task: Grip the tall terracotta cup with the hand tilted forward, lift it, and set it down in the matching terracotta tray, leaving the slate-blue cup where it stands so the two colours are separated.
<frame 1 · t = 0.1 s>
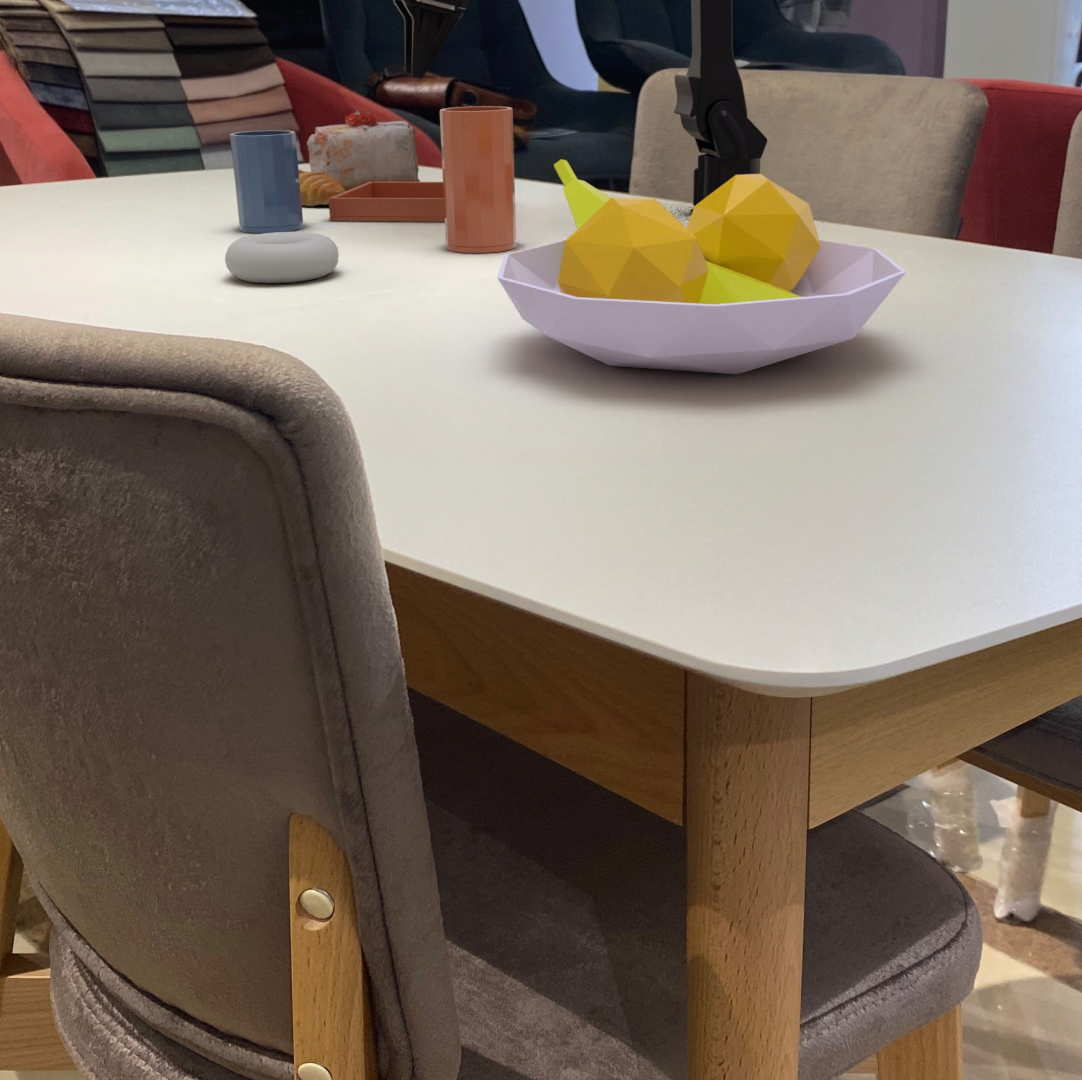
hand: (413, 76, 136), 15 cm above the table, tool pointing down, fingers open, 9 cm apart
tray: (421, 211, 152), on the table
slate cup: (271, 228, 142), on the table
fruit bowl: (686, 348, 89), on the table
food item: (365, 191, 172), on the table
pastry: (314, 204, 161), on the table
terracotta cup: (481, 247, 128), on the table
donut: (284, 278, 116), on the table
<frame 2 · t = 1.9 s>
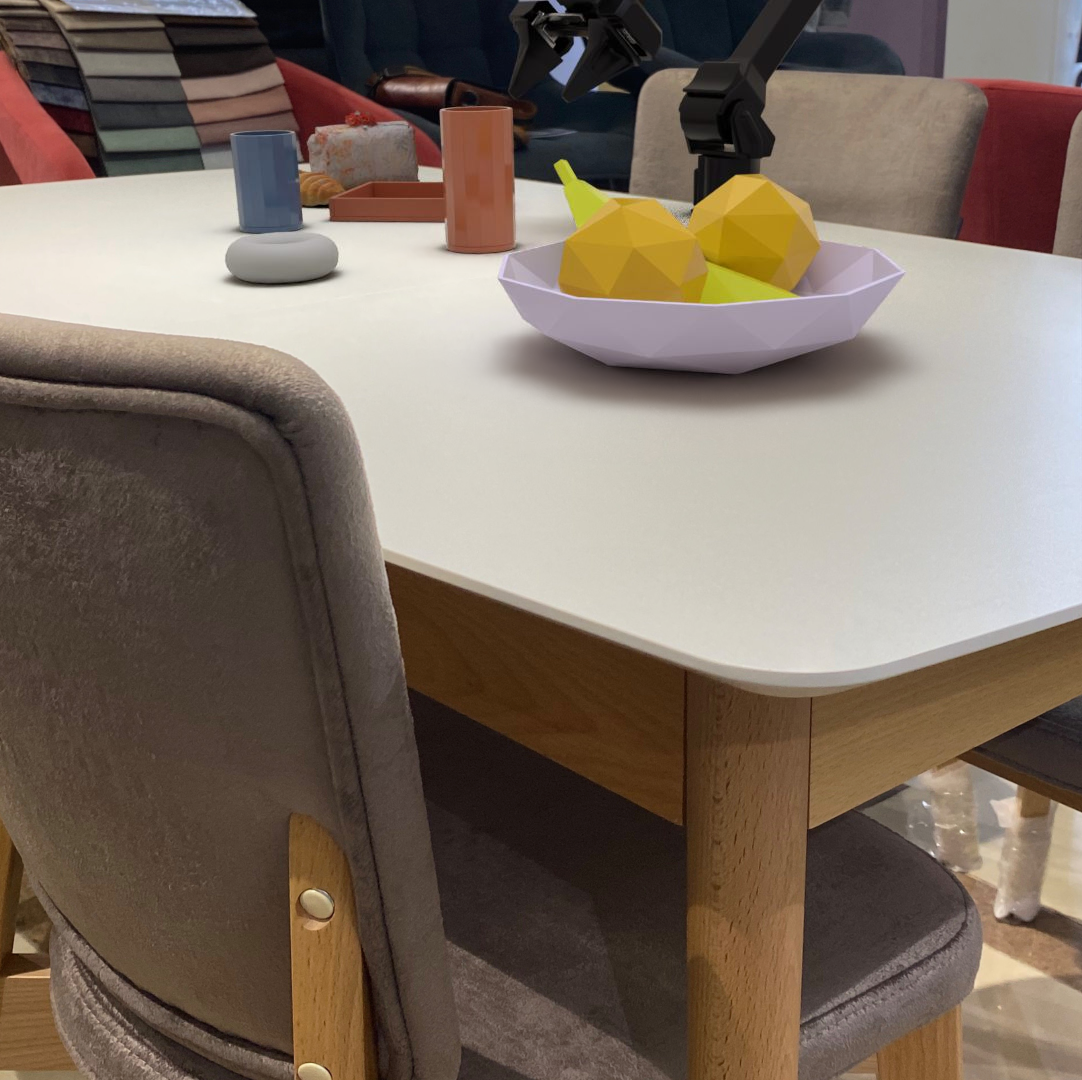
hand: (537, 97, 128), 14 cm above the table, tool tilted 45°, fingers open, 9 cm apart
nothing on the table moved.
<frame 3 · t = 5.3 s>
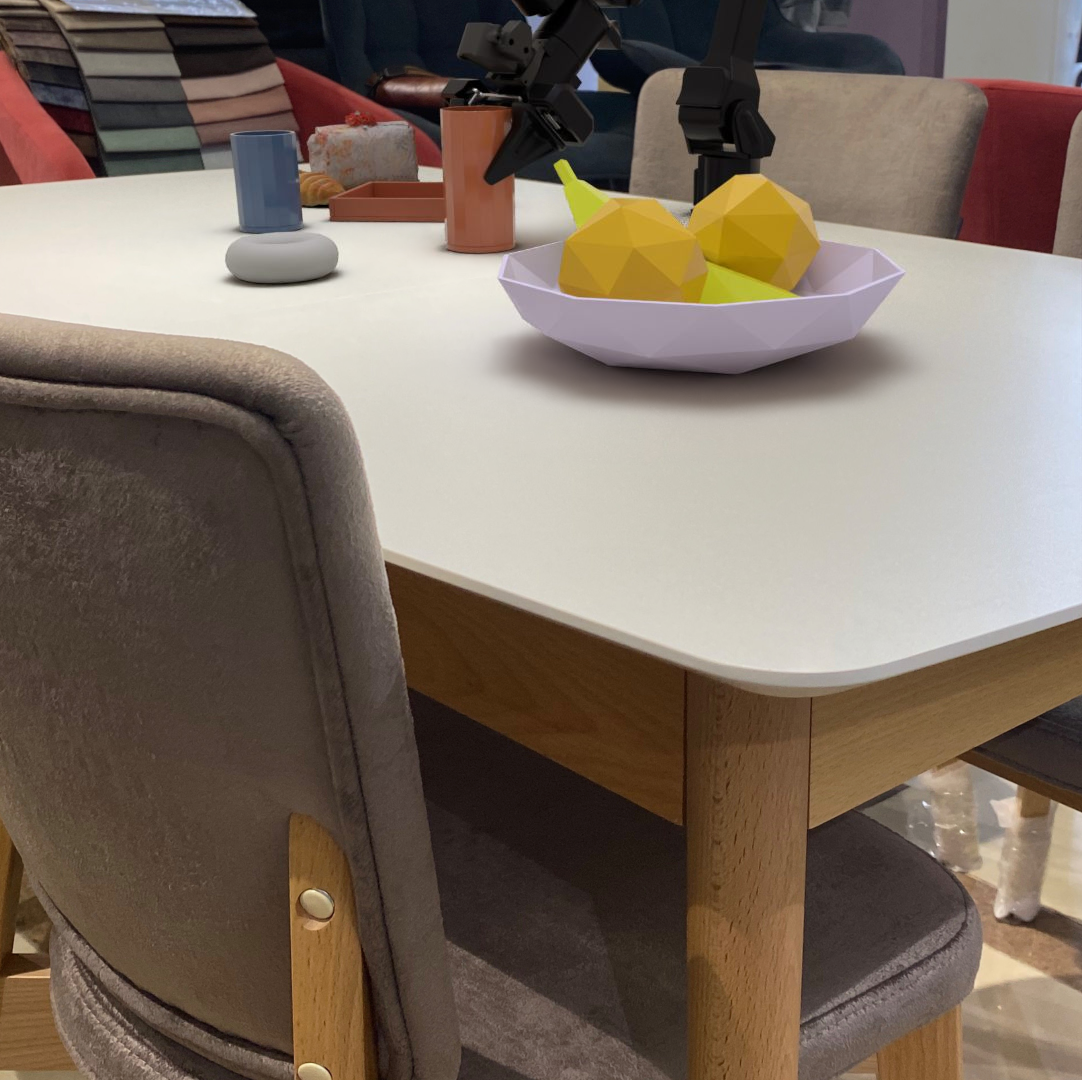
hand: (466, 179, 125), 7 cm above the table, tool tilted 45°, fingers closed on terracotta cup, 7 cm apart
terracotta cup: (480, 246, 128), on the table, touching gripper
everything else where it was.
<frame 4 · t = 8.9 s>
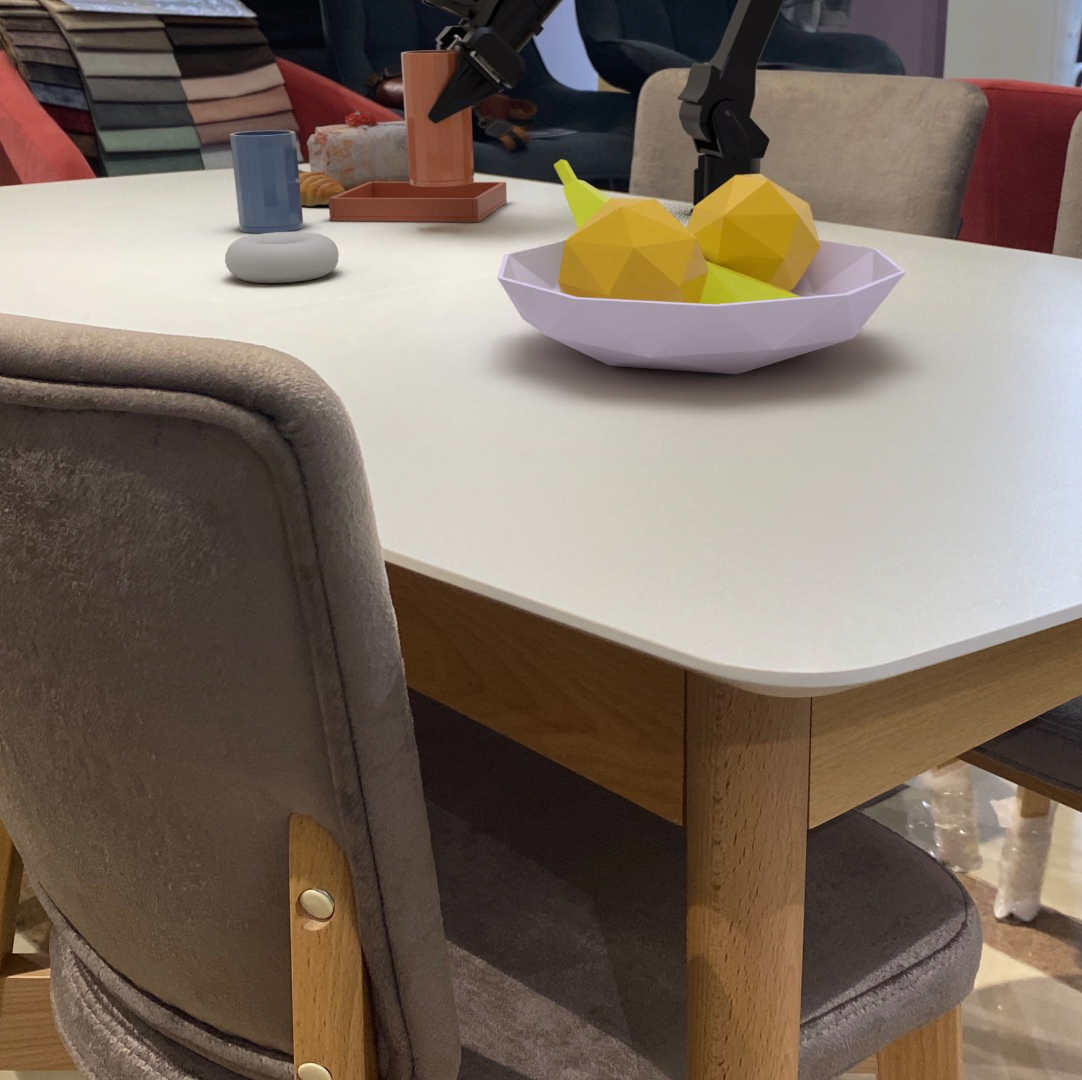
hand: (425, 117, 135), 11 cm above the table, tool tilted 45°, fingers closed on terracotta cup, 7 cm apart
terracotta cup: (441, 182, 138), point 5 cm above the table, touching gripper
everything else where it was.
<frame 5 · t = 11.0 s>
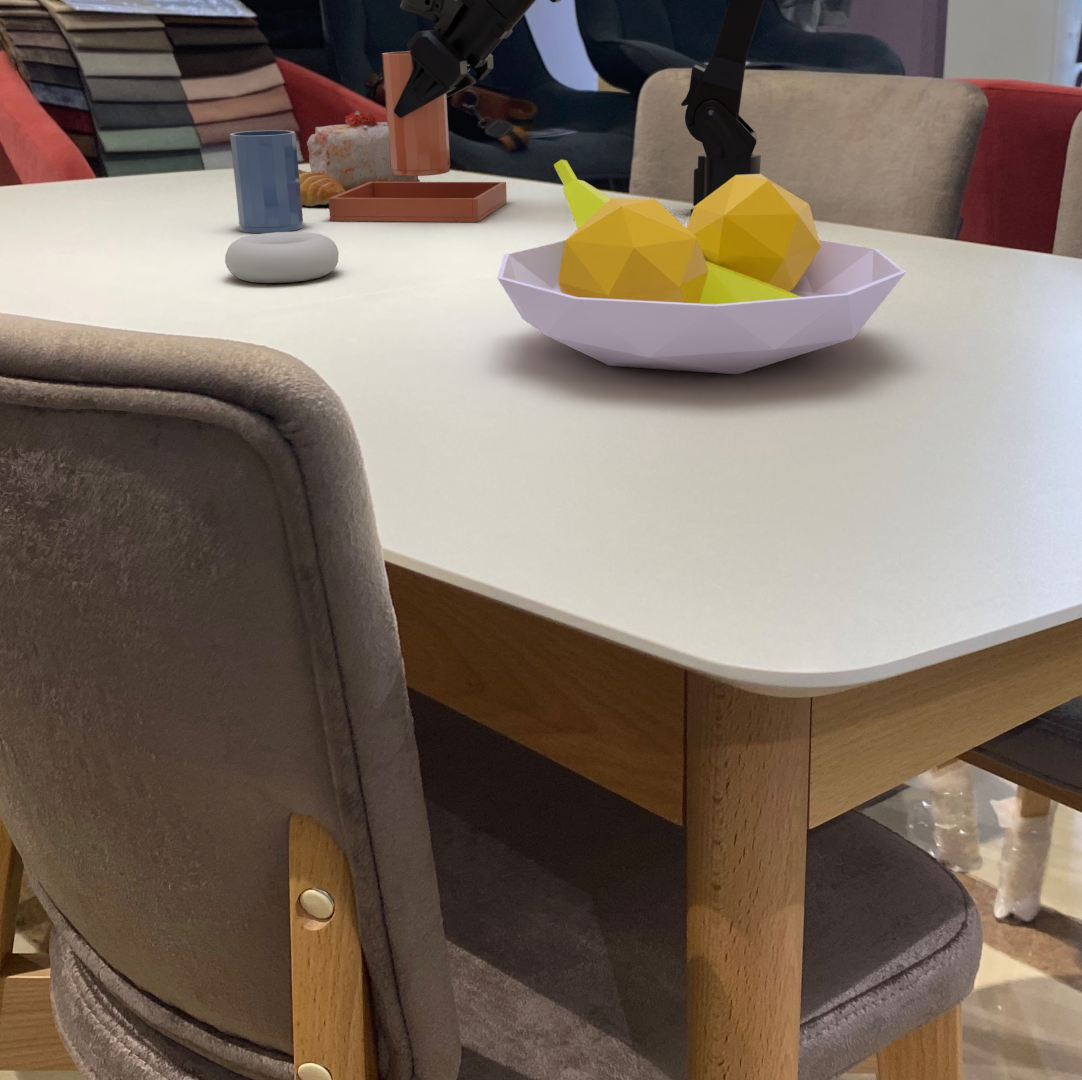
hand: (405, 112, 148), 11 cm above the table, tool tilted 45°, fingers closed on terracotta cup, 7 cm apart
terracotta cup: (420, 172, 150), point 4 cm above the table, touching gripper
everything else where it was.
when the fingers open (7 cm above the table, at t = 12.7 s): terracotta cup stays where it is, resting on tray.
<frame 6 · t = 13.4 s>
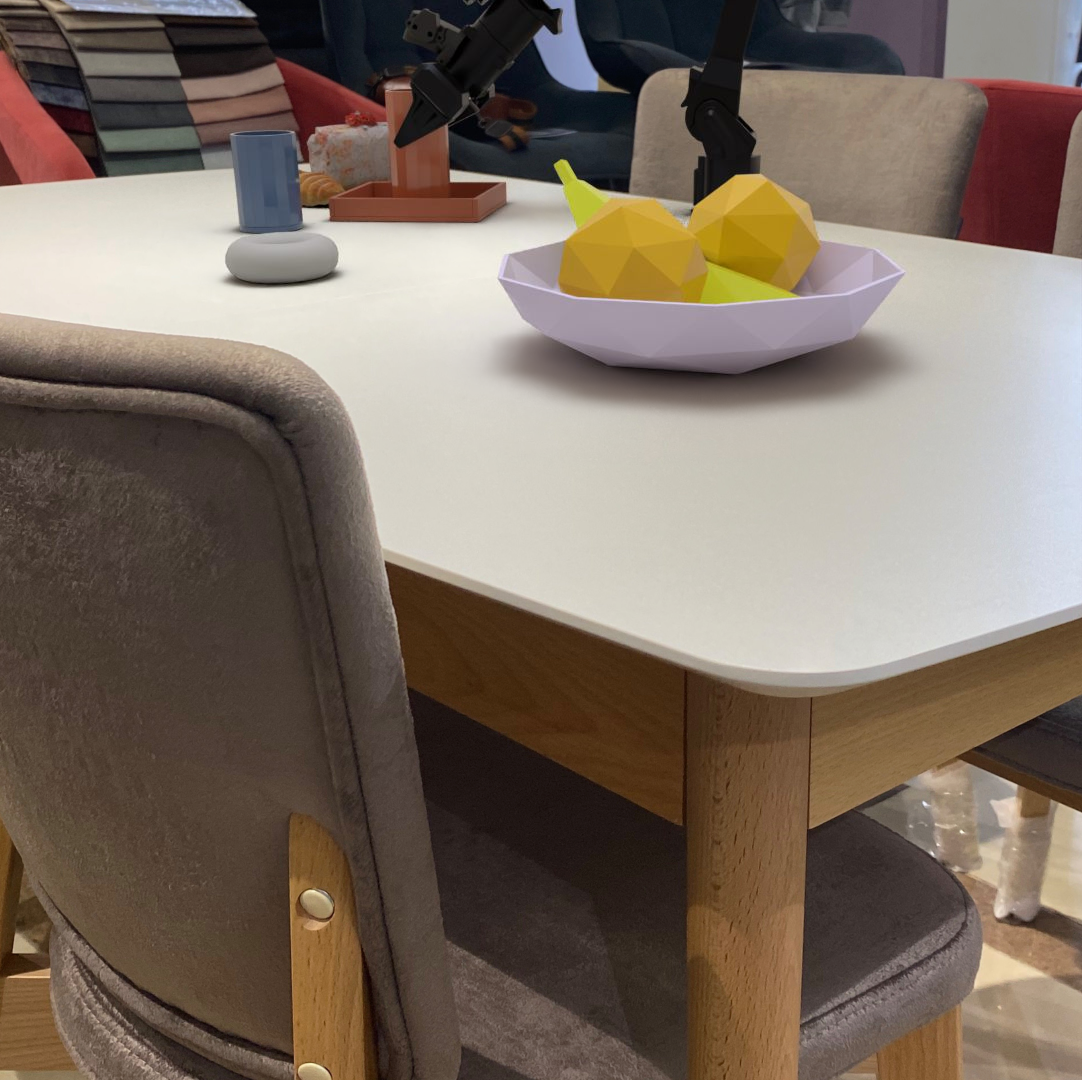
hand: (407, 141, 149), 8 cm above the table, tool tilted 45°, fingers open, 9 cm apart
terracotta cup: (421, 207, 152), resting on tray
everything else where it was.
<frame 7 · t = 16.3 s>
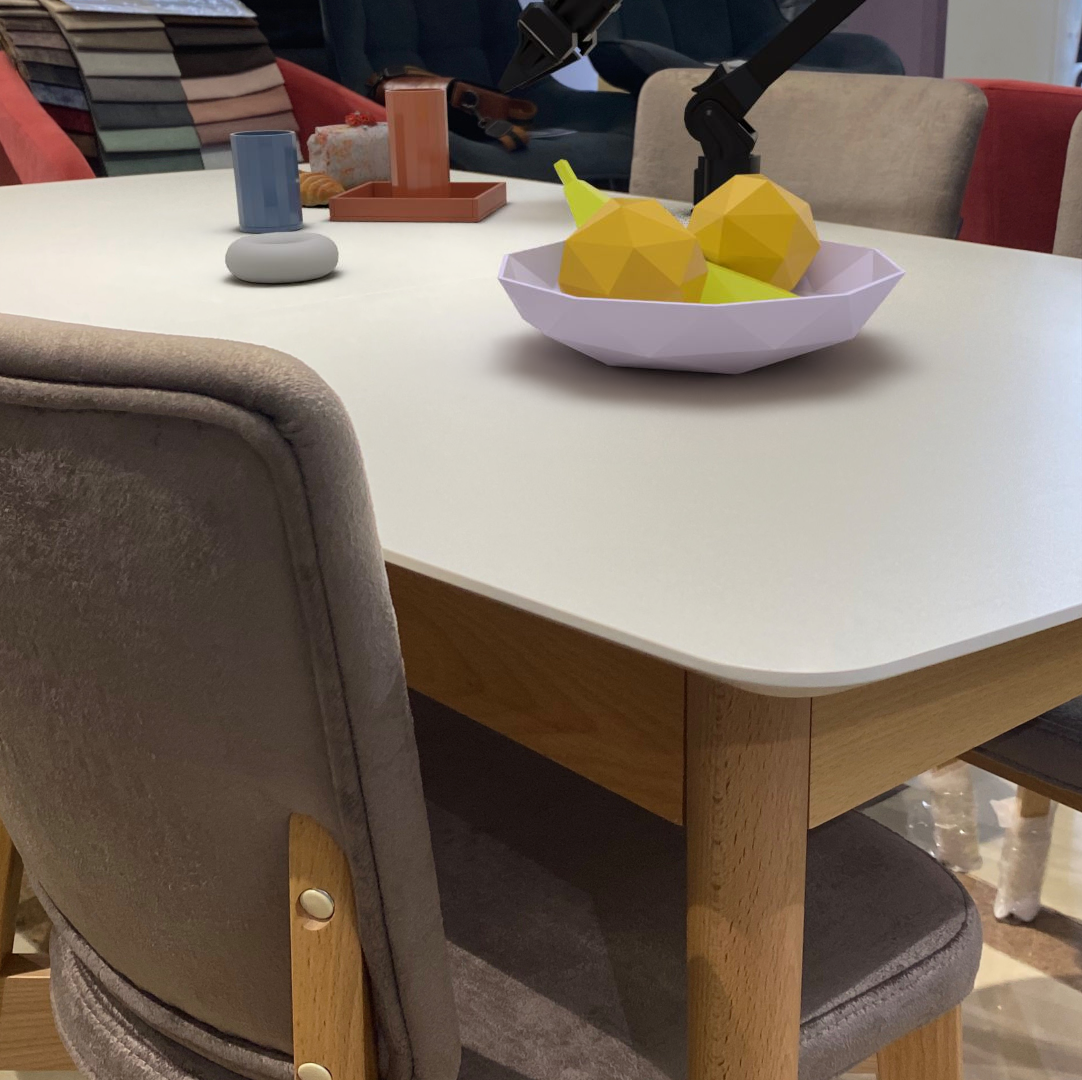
hand: (509, 88, 146), 14 cm above the table, tool tilted 45°, fingers open, 9 cm apart
nothing on the table moved.
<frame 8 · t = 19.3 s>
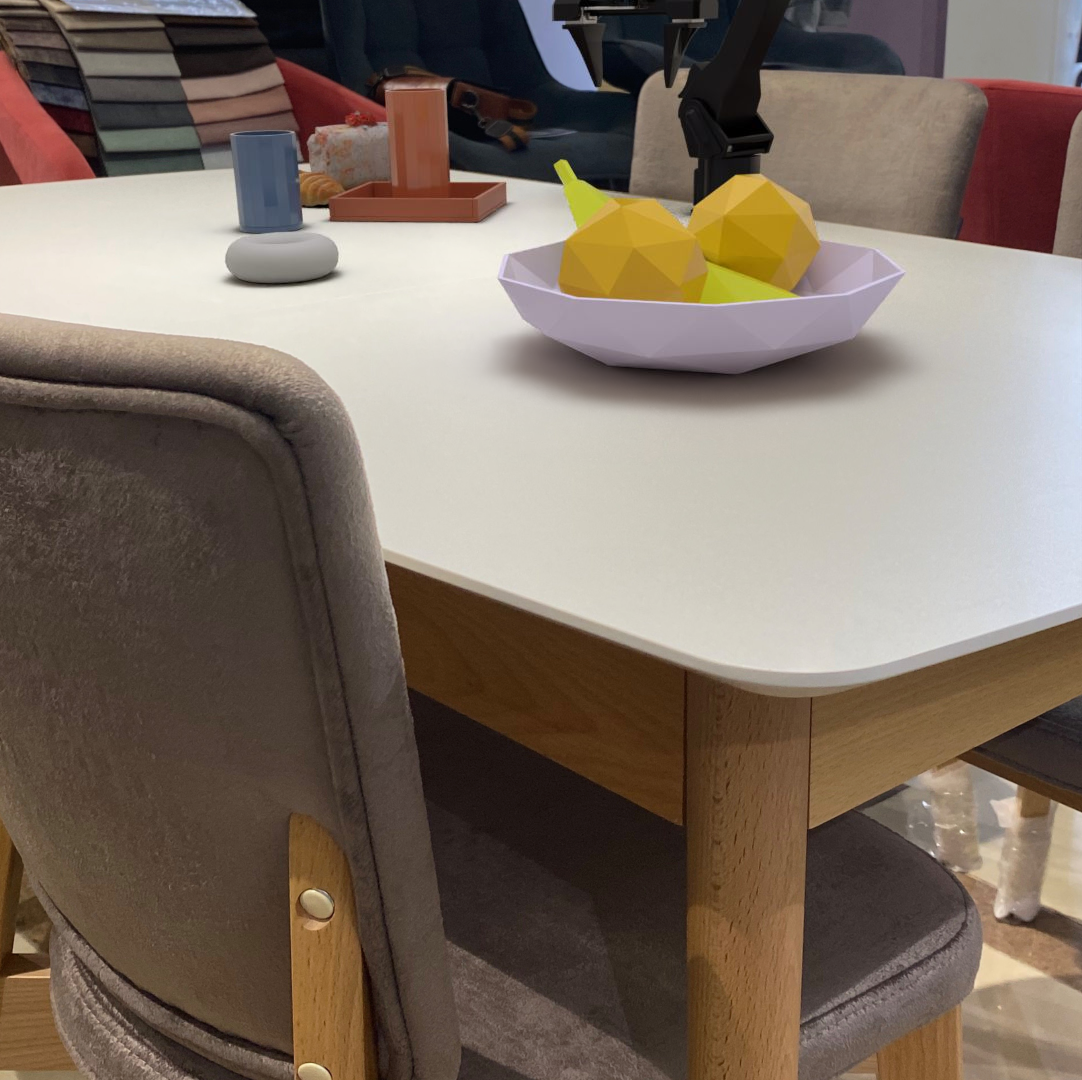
hand: (633, 87, 151), 13 cm above the table, tool pointing down, fingers open, 9 cm apart
nothing on the table moved.
at the end: terracotta cup inside the target area in the tray (0.1 cm from its centre), point 0.5 cm above the tray's base; terracotta cup tilted 0°; slate cup moved 0.0 cm from its start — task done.
